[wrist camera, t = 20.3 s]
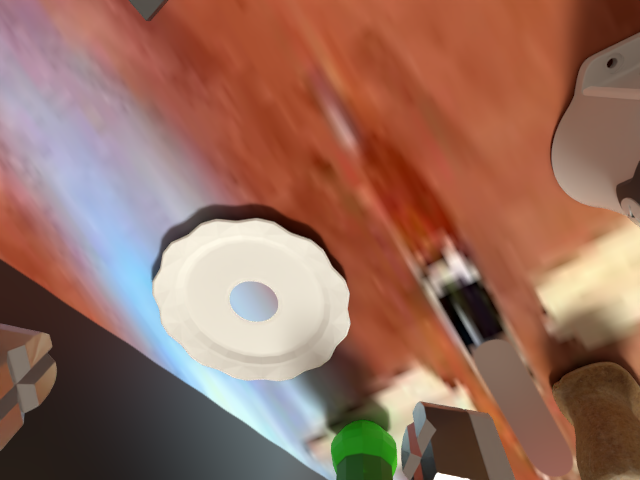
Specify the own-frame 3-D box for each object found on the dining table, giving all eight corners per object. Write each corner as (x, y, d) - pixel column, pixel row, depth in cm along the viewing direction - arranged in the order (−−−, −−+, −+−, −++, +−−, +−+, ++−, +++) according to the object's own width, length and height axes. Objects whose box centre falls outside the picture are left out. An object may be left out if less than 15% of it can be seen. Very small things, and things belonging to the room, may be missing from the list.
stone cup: (524, 383, 54) (580, 495, 41) (612, 344, 50) (708, 455, 37) (570, 444, 59) (635, 562, 45) (655, 413, 55) (753, 534, 41)
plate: (194, 175, 44) (188, 181, 42) (386, 269, 48) (388, 277, 46) (139, 327, 55) (132, 337, 53) (299, 394, 58) (297, 405, 57)
